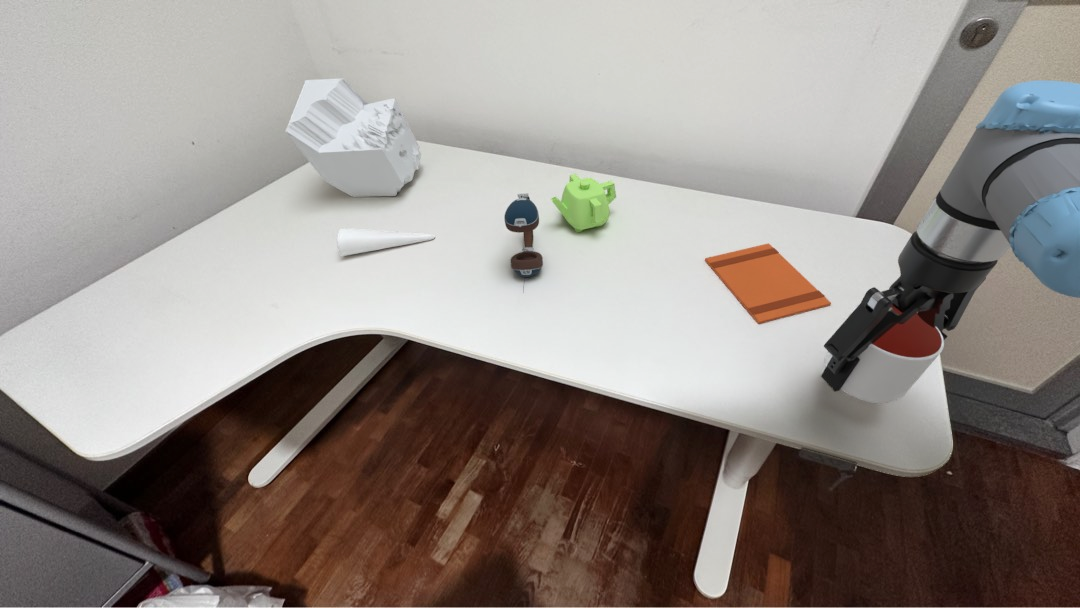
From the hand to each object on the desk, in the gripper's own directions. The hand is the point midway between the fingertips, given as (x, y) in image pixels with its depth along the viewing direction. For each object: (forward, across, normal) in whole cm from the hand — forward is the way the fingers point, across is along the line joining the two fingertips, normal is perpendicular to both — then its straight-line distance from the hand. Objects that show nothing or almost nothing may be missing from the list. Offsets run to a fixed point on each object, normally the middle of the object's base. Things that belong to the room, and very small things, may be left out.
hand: (863, 373), depth 63 cm
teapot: (+5, +22, -55) cm, 60 cm away
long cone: (+5, +65, -60) cm, 89 cm away
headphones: (+5, +38, -43) cm, 58 cm away
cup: (+1, 0, 0) cm, 1 cm away
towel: (+5, -3, -25) cm, 26 cm away
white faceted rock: (+5, +67, -87) cm, 110 cm away
